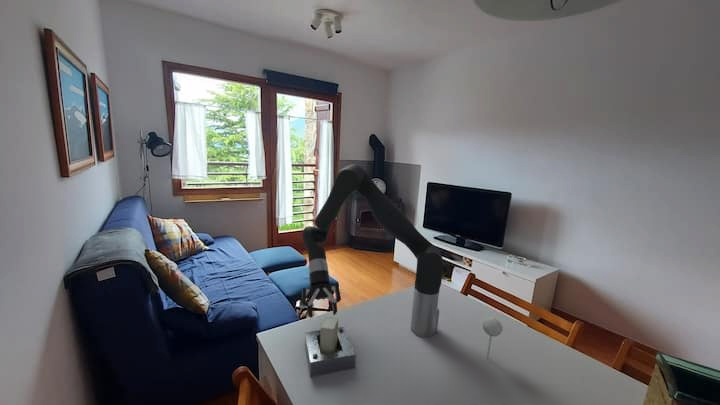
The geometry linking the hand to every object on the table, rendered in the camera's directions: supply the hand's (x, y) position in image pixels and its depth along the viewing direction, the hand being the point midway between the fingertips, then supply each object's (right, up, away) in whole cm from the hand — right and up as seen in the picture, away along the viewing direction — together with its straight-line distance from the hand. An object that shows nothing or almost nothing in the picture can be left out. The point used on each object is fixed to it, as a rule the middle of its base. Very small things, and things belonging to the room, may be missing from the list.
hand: (323, 315), depth 100 cm
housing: (+3, -10, -9) cm, 13 cm away
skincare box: (+3, -10, -9) cm, 13 cm away
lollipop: (+57, -12, -6) cm, 58 cm away
